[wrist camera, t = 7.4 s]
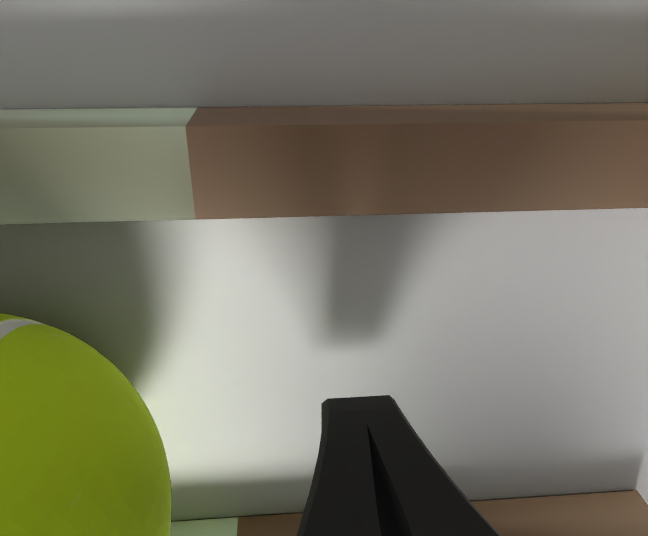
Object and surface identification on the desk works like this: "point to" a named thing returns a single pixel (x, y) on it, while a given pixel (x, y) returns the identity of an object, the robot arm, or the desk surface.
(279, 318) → the desk surface
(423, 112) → the level stand
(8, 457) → the tennis ball
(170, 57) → the desk surface
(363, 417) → the robot arm
